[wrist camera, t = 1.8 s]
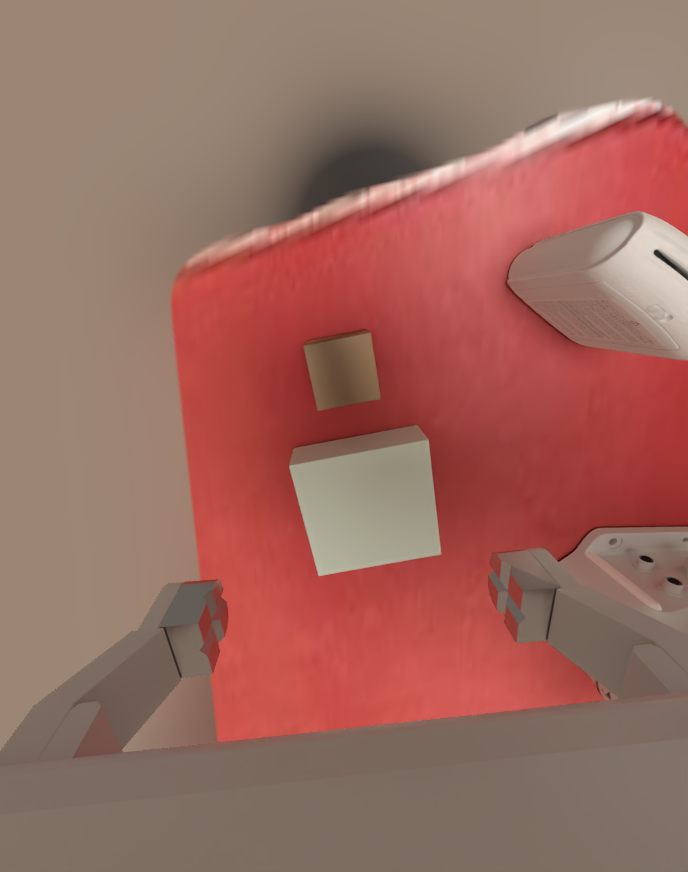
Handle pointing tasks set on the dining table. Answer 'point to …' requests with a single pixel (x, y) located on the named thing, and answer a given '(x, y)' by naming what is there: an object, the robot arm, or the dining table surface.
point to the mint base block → (367, 499)
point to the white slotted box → (611, 285)
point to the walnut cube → (342, 369)
